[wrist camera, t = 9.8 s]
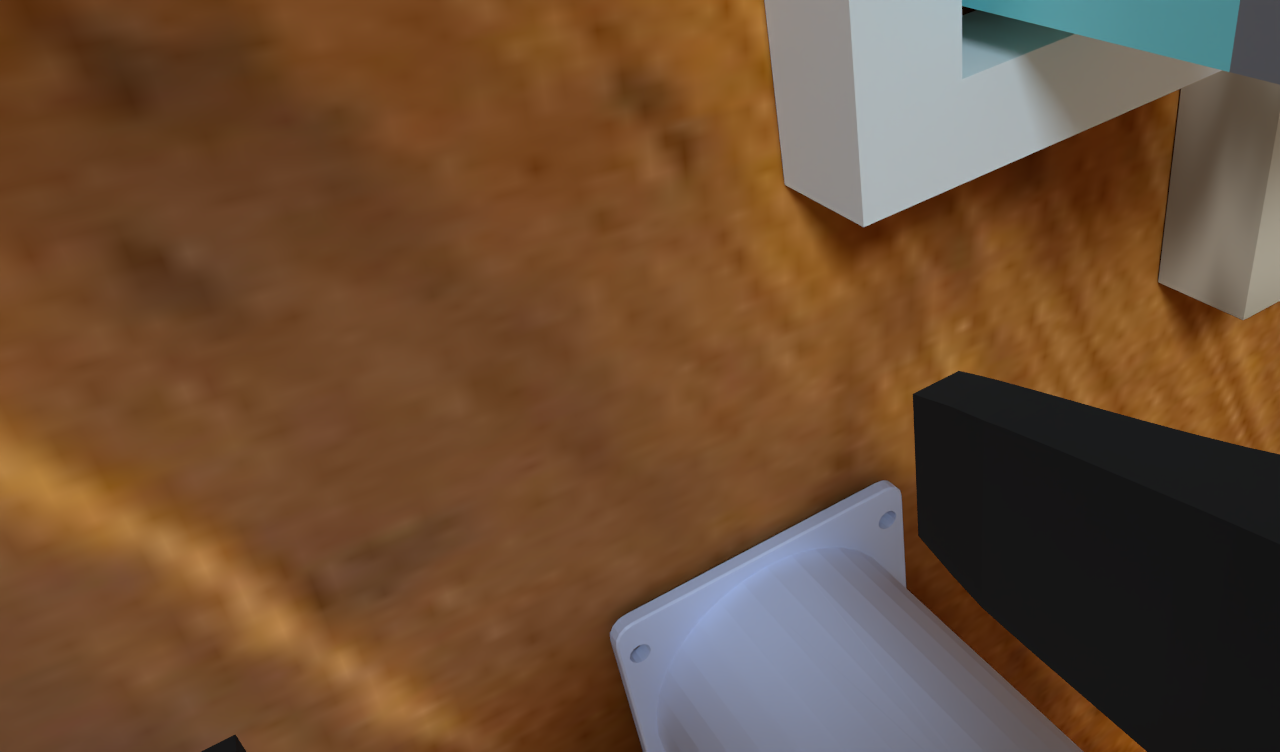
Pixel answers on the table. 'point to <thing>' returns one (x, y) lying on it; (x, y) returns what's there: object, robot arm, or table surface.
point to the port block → (936, 95)
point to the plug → (1167, 28)
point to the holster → (1225, 195)
